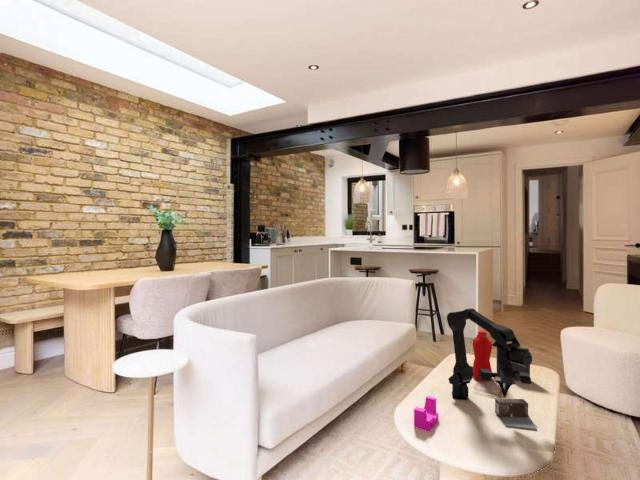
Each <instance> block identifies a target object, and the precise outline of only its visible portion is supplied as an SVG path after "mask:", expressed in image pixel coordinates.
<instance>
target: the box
mask: <svg viewBox="0 0 640 480" xmlns="http://www.w3.org/2000/svg"><path fill="white" fill-rule="evenodd" d="M494 413H495V415H497V416H498V417H501V418H502V417H528V415H529V403H528V402H527V401H526V400H525V399H524V398H495V399H494Z"/></svg>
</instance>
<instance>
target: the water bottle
mask: <svg viewBox="0 0 640 480" xmlns="http://www.w3.org/2000/svg"><path fill="white" fill-rule="evenodd" d="M487 335H488V332H487V331H486V330H479V331H477V334H476V337H474V338H473V340H472V341H471V343H470V345H469V347H471V344H472V351H473V352H472V354H471V355H474V359H473V365H472V367H473V374H474V375H473V379H475V380H476V381H483V380H482V379H481V378H480V376H479V370H480V369H489V370H490V372H493V370H492V366H491V354H492V350H493V346H492V344H493V343H492V341H491V340H490V338H488V337H487ZM468 351H469V352H470V351H471V348H469V349H468ZM492 378H493V377H491V379H490V380H486V381H485V382H489V381H492Z"/></svg>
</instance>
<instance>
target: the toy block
mask: <svg viewBox="0 0 640 480" xmlns="http://www.w3.org/2000/svg"><path fill="white" fill-rule="evenodd" d="M438 422H439V412H437V398H436V397H432V396H429V395H427V396H426V397H425V402H424V407H420V406H419V407H418V406H416V407H415V408H414V409H413V427H414V426H415V427H414V428H416V427H418V428H417V429H419V428H421V429H420V430H422V429H423V431H425V430H426V432H428V431H429V432H428V433H430V432H431V431H432V430H433V428H434V427H435V426H436V425H437V424H438ZM435 424H436V425H435ZM431 429H432V430H431ZM430 430H431V431H430Z"/></svg>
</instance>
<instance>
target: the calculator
mask: <svg viewBox="0 0 640 480" xmlns="http://www.w3.org/2000/svg"><path fill="white" fill-rule="evenodd" d="M512 368H513V371H519V372H525V373H527V374H528V375H529V376H530V377H531V365H530V366H528V367H526V366H522V365H519V364H516V363H513V362H512Z"/></svg>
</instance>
